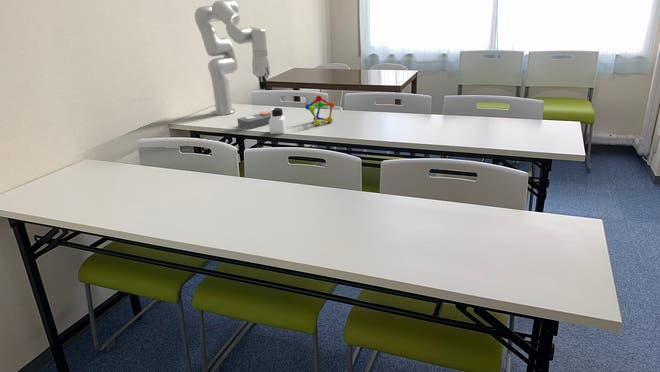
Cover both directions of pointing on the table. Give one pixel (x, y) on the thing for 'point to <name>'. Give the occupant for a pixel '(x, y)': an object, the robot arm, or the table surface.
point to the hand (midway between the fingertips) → (263, 88)
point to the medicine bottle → (277, 121)
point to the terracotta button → (265, 113)
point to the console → (254, 121)
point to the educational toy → (320, 104)
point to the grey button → (250, 117)
